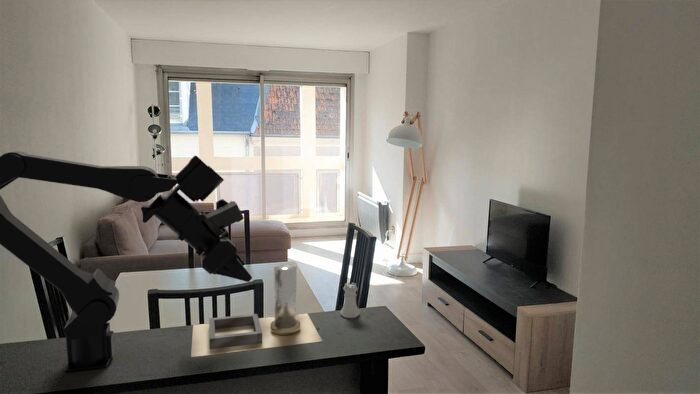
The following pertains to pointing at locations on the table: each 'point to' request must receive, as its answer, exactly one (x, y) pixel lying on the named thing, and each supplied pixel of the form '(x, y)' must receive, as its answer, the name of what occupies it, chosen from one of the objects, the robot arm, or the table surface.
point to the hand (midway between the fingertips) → (246, 272)
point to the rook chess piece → (350, 301)
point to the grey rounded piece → (285, 301)
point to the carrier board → (246, 334)
